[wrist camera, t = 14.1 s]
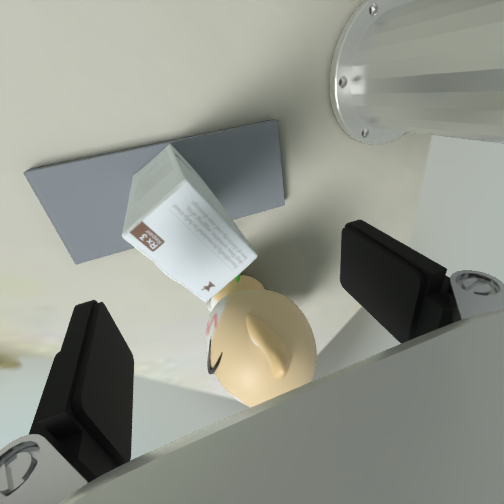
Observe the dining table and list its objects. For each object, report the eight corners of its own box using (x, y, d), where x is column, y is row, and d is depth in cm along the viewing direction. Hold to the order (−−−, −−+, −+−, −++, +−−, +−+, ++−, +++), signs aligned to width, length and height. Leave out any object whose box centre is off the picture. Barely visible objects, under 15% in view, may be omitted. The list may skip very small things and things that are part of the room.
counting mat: (272, 119, 25) (277, 120, 24) (280, 202, 29) (284, 205, 29) (27, 169, 21) (23, 172, 20) (77, 259, 25) (75, 264, 24)
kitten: (157, 271, 28) (175, 405, 16) (241, 219, 29) (321, 310, 17) (225, 348, 37) (271, 475, 24) (289, 307, 37) (366, 410, 25)
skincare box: (216, 194, 26) (268, 256, 16) (180, 227, 26) (208, 308, 16) (167, 139, 22) (193, 172, 12) (125, 176, 22) (118, 239, 12)
